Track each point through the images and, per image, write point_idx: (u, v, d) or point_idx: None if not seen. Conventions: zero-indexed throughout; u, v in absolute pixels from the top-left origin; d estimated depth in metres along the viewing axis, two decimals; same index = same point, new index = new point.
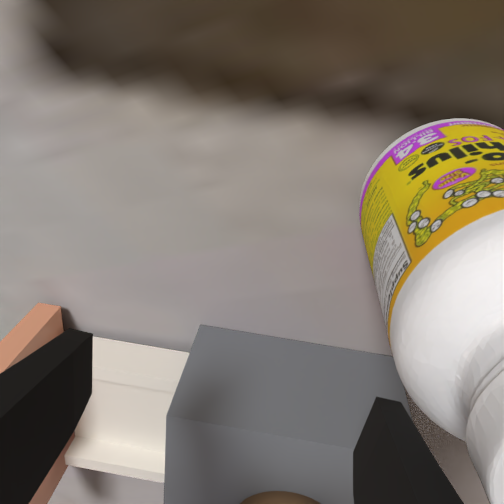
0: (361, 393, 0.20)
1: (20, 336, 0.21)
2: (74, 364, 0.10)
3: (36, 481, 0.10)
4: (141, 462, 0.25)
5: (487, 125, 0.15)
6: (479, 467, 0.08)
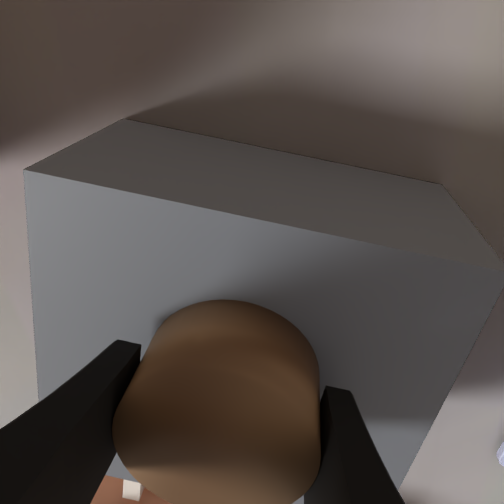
0: None
1: None
2: (126, 376, 0.10)
3: (90, 494, 0.10)
4: None
5: None
6: None
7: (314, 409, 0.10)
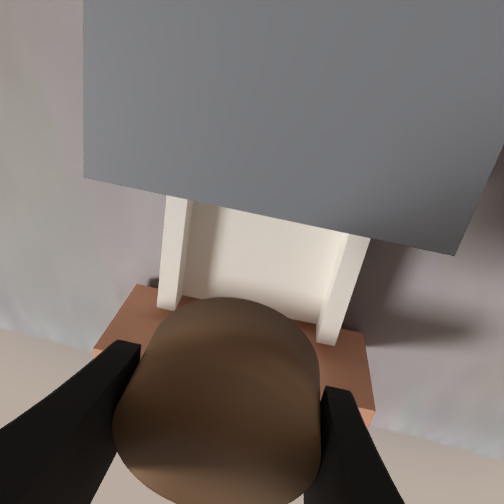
0: None
1: None
2: (126, 376, 0.10)
3: (90, 494, 0.10)
4: (342, 250, 0.18)
5: None
6: None
7: (314, 407, 0.10)
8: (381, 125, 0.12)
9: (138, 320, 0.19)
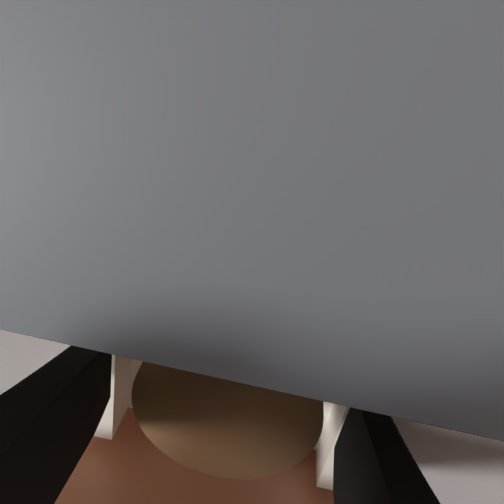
0: None
1: None
2: (95, 369, 0.10)
3: (58, 486, 0.10)
4: None
5: None
6: None
7: None
8: (453, 237, 0.06)
9: None
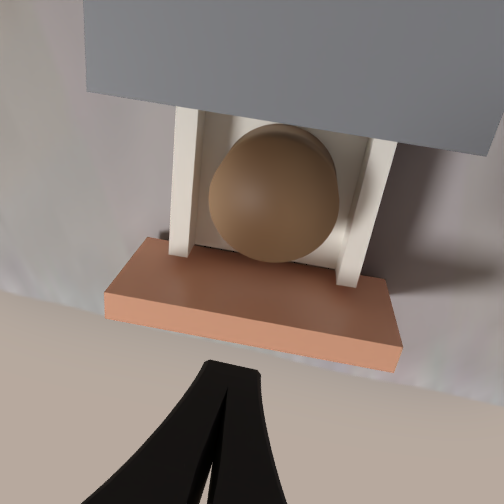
0: None
1: None
2: (225, 398, 0.10)
3: None
4: (361, 181, 0.17)
5: None
6: None
7: (334, 175, 0.16)
8: (404, 6, 0.11)
9: (150, 267, 0.19)
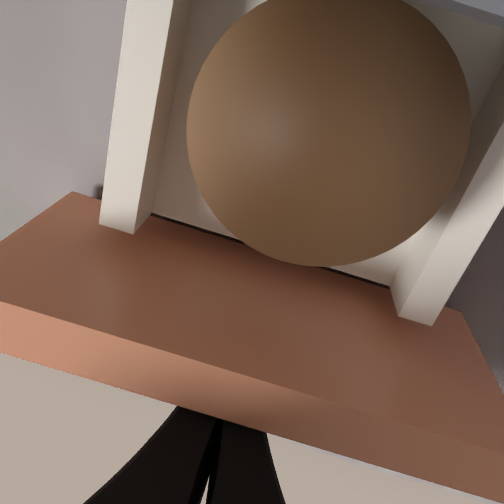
0: None
1: None
2: None
3: None
4: (490, 126, 0.09)
5: None
6: None
7: None
8: None
9: (60, 244, 0.10)
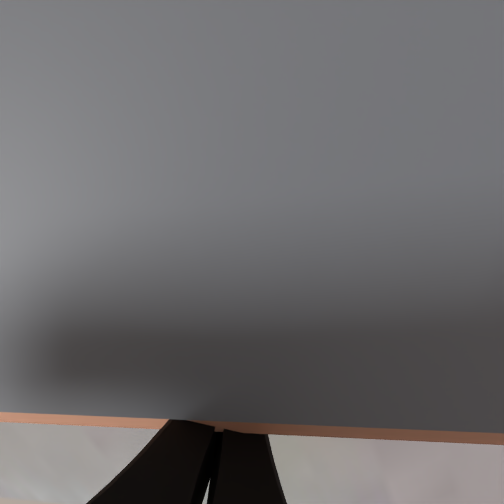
0: None
1: None
2: None
3: None
4: None
5: None
6: None
7: None
8: (340, 249, 0.06)
9: None
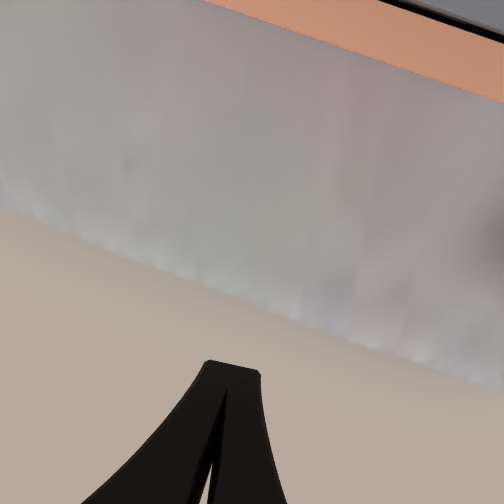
0: None
1: None
2: (225, 398, 0.10)
3: None
4: None
5: None
6: None
7: None
8: None
9: None
